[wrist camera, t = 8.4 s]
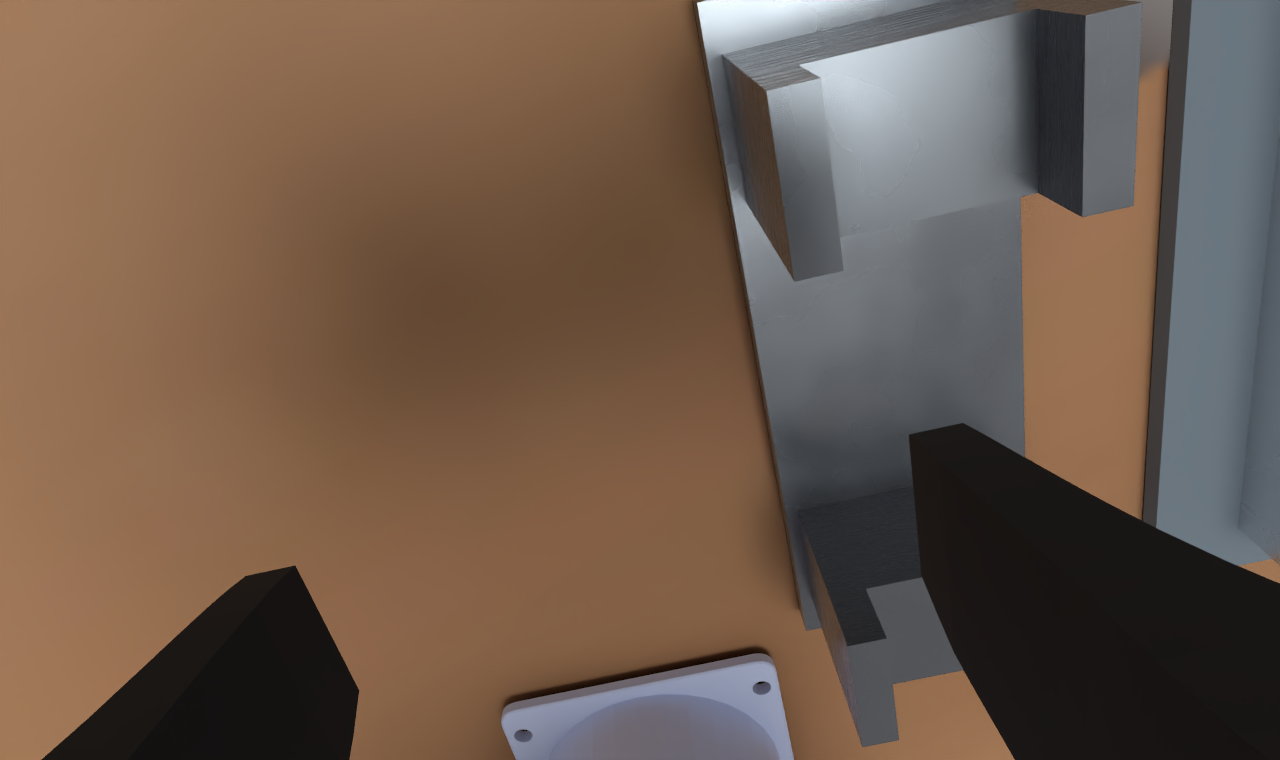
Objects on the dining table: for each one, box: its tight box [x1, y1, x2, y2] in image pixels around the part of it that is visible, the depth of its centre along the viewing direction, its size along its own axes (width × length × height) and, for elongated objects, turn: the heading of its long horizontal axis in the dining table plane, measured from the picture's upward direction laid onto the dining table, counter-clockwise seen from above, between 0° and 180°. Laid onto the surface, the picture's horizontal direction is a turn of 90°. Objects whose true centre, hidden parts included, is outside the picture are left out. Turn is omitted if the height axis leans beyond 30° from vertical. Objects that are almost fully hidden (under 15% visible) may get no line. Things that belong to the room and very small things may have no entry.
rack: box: [693, 0, 1142, 747], centre depth 18 cm, size 16×6×6 cm, turn 12°
